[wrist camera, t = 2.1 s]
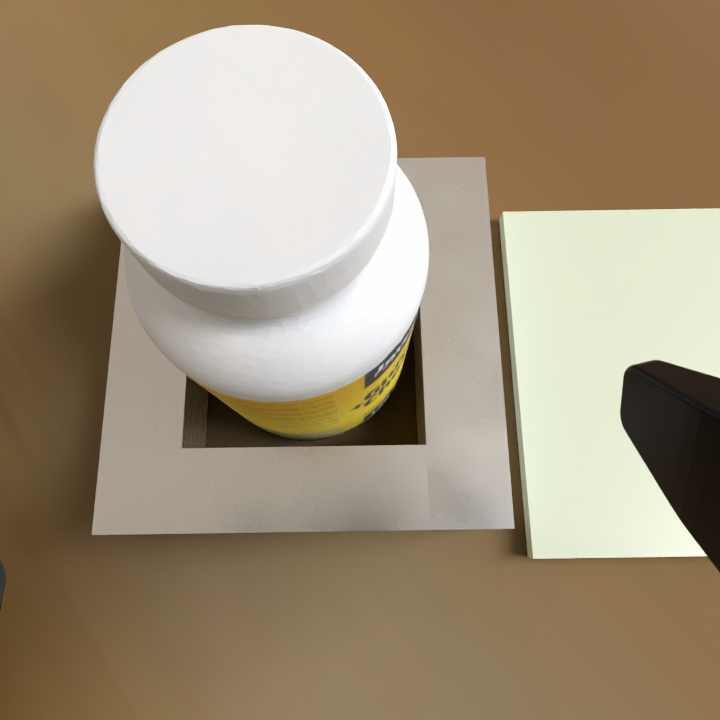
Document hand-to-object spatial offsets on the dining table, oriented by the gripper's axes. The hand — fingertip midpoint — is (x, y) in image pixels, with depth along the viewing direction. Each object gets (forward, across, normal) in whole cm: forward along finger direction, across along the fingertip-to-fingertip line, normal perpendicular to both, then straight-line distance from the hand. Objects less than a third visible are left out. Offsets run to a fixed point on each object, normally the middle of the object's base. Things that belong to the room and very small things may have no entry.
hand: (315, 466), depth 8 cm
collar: (+11, 0, +5) cm, 12 cm away
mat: (+9, -10, +7) cm, 15 cm away
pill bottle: (+12, 0, +5) cm, 12 cm away
